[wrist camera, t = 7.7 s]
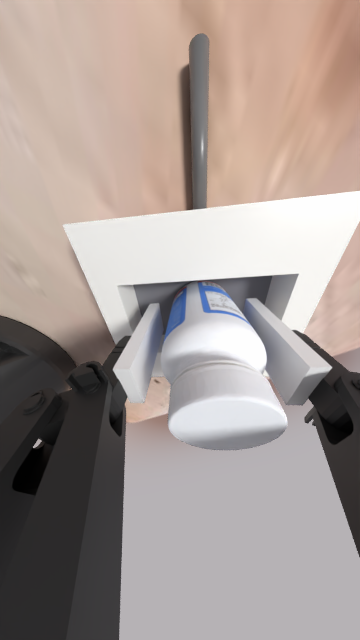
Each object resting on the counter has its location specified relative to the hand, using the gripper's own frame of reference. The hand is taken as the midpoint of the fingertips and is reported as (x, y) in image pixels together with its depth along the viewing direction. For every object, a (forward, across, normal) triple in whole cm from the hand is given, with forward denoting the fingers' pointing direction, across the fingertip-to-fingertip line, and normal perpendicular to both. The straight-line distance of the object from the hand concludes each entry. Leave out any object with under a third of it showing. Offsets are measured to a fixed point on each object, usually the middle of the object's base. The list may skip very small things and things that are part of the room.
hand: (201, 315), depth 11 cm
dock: (+2, 0, +3) cm, 4 cm away
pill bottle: (+2, 0, 0) cm, 2 cm away
